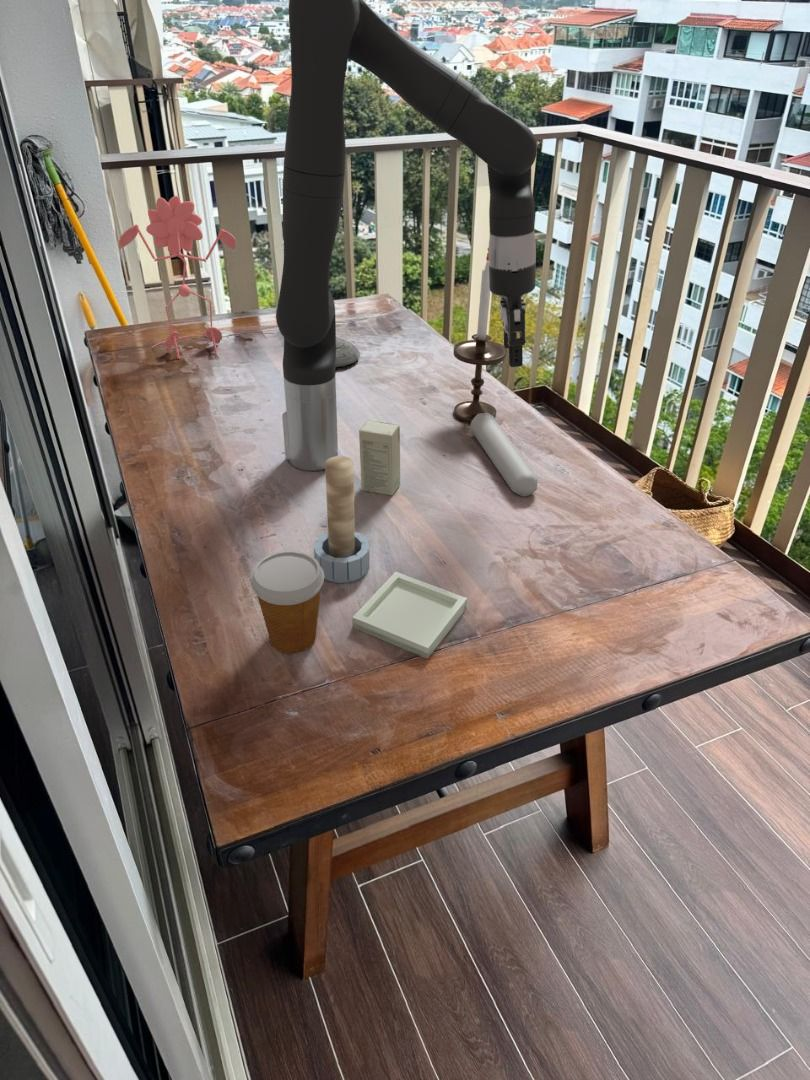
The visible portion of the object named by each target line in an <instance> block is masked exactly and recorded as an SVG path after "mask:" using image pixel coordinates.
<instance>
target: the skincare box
mask: <svg viewBox="0 0 810 1080" xmlns="http://www.w3.org/2000/svg"><path fill="white" fill-rule="evenodd" d="M400 431H401V426H400V424H394V423H389V422H382V421H378V420H377V421H376V420H375V421H374V420H370V419H369V420H367V421H365V423H364V424H363V425H362V426H361V427H360V428H359V429H358V435H359V437H358V438H359V439H358V441H359V457H360V458H359V461H360V478H361V479H360V483H361V490H362V491H366V492H370V493H376V494H382V495H387V496H394V495H395V493H396V491H397V490H398V488H399V487H400V486H401V432H400Z"/></svg>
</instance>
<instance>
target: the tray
mask: <svg viewBox="0 0 810 1080" xmlns="http://www.w3.org/2000/svg"><path fill="white" fill-rule="evenodd" d="M467 605H468V598H467V597H465V596H462V595H460V594H457V593H454V592H452V591H448V590H446V589H443V588H441V587H439V586H435V585H432V584H430V583H428V582H425V581H423V580H420V579H417V578H415V577H411V576H409V575H406V574H404V573H401V572H398V571H395V572H394V573H393V574H391V576H389V578H388V579H387V580H386V581H385V582H384V583H383V585H382V586H380V587H379V589H377V591H376V592H374V594H373V595H372V596H371V597H370V598H369V599H368V600H367V601H366V602H365V604H363V605H362V607H360V609H359V610H358V611H357V612H356V613H355V614H354V615H353V616H352V629H355V630H358V631H360V632H362V633H363V634H364V633H365V634H367V635H369V636H372V637H374V638H377V639H379V640H382V641H384V642H386V643H389V644H391V645H393V646H395V647H398V648H401V649H403V650H405V651H407V652H410V653H413V654H414V655H417V656H420V657H422V658H424V659H429V658H430V656H431V655H432V654H433V653H434V651H435V650H436V649H437V647H438V646H439V645H440V644H441V642H442V641H443V640H444V638H445V637H446V635H448V633H449V632H450V631H451V629H452V628H453V626H455V624H456V623H457V621H458V620H459V619H460V618H461V616H462V615H463V613H464V612H465V611H466V610H467Z"/></svg>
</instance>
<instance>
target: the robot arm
mask: <svg viewBox="0 0 810 1080" xmlns="http://www.w3.org/2000/svg"><path fill="white" fill-rule="evenodd" d="M288 24H289V25H288V26H289V40H290V41H289V43H290V61H291V62H290V70H291V71H290V72H291V73H290V74H291V76H290V77H291V82H290V84H291V85H290V86H291V89H290V99H289V100H290V101H289V107H288V116H287V121H286V122H287V123H286V131H285V145H284V157H283V169H282V170H283V172H282V174H283V175H282V176H283V177H282V238H283V263H282V264H283V265H282V275H281V282H280V289H279V297H278V300H277V307H276V313H275V318H276V324H277V327H278V330H279V333H280V334H281V335H282V337H283V356H282V372H283V386H284V387H283V388H284V398H285V411H284V412H283V413H282V416H281V417H282V418H281V419H282V430H283V441H284V443H283V445H284V455H285V460H287V461H289V462H290V463H291V465H293V467H295V468H296V469H300V470H303V471H309V472H310V471H311V472H312V471H315V472H317V471H323V470H325V462H326V460H327V459H329V458H331V457H335V456H339V446H338V445H339V444H338V442H339V441H338V436H339V435H338V411H337V410H338V409H337V387H336V385H337V383H336V379H337V378H336V367H335V361H336V338H337V332H336V331H337V330H336V329H337V328H336V324H337V323H336V319H337V318H336V305H335V300H334V298H333V295H332V293H331V291H330V287H329V286H330V268H331V260H332V254H333V250H334V246H335V242H336V238H337V234H338V229H339V223H340V218H341V212H342V206H343V199H344V187H345V178H346V177H345V176H346V175H345V174H346V158H347V157H346V154H347V151H346V146H347V145H346V129H345V117H344V92H345V81H346V76H347V75H346V74H347V68H348V62H349V60H350V61H352V62H353V63H356V64H358V65H359V66H361V67H362V68H364V69H365V70H367V71H368V72H370V73H371V74H373V75H374V76H376V77H377V78H378V79H380V80H381V81H382V82H383V83H385V85H386V86H388V87H389V88H391V90H392V91H394V92H395V93H396V94H397V95H398V96H399V97H400V98H401V99H402V100H404V101H405V102H406V104H408V105H409V106H410V107H412V108H413V109H414V111H416V112H418V113H419V114H420V115H421V116H422V117H424V118H425V119H427V120H428V121H429V122H431V123H432V124H433V125H434V126H435V127H438V128H439V129H441V131H443V132H444V133H446V134H447V135H449V136H450V137H452V138H453V139H455V140H457V141H459V142H461V143H462V144H463V145H464V146H465V147H467V149H469V150H470V151H472V153H474V154H475V155H476V156H477V157H478V158H479V159H481V160H482V161H483V162H485V163H486V164H487V165H486V166H487V167H486V168H487V177H488V179H487V180H488V186H489V187H488V188H489V205H488V206H489V207H488V208H489V210H488V212H489V213H488V215H489V216H488V218H489V220H488V221H489V222H488V223H489V238H488V239H489V241H488V247H489V288H490V293H492V294H494V295H495V296H500V297H501V298H500V299H499V311H500V312H499V313H500V320H501V325H502V327H503V346H504V347H505V348H506V349H508V365H509V367H510V368H517V367H522V365H523V364H524V363H523V362H524V361H523V360H524V359H523V353H524V350H523V348H524V346H525V345H526V343H527V342H526V341H527V340H526V314H527V313H526V312H527V308H526V302H525V301H524V297H523V296H524V295H527V294H529V293H532V292H533V291H534V290H535V289H536V278H537V277H536V271H537V269H536V268H537V265H536V264H537V263H536V261H537V259H536V257H537V248H536V247H537V245H536V244H537V243H536V238H535V237H536V236H535V234H536V233H535V200H534V195H533V192H532V191H533V190H532V167H533V164H534V163H535V161H536V159H537V153H538V142H537V139H536V137H535V134H534V133H533V131H532V129H530V128H529V126H528V125H527V124H526V123H525V122H523V121H521V120H519V119H517V118H514V117H513V116H511V115H509V114H508V113H507V112H505V111H504V110H502V109H501V108H499V107H498V106H497V105H495V104H493V103H492V102H491V101H490V100H489V99H488V98H487V96H485V95H484V94H483V93H482V92H481V91H480V90H479V89H478V88H476V86H474V85H473V84H471V83H470V82H469V81H468V80H466V79H465V78H464V77H462V76H461V75H460V74H458V73H457V72H455V71H454V70H453V69H451V68H450V67H448V66H447V65H446V64H445V63H443V62H441V61H439V60H438V59H437V58H435V57H434V56H432V55H431V54H429V53H427V52H426V51H424V49H422V48H420V47H419V46H417V45H415V44H414V43H413V42H412V41H410V40H409V39H407V38H406V37H405V36H403V35H402V34H400V33H399V32H398V31H397V30H396V29H394V28H393V27H392V26H391V25H390V24H389V23H387V21H385V20H384V19H383V18H382V17H381V16H379V14H377V13H376V11H375V10H374V9H372V6H370V5H369V4H368V3H367V2H366V1H365V0H288ZM517 333H518V334H519V337H518V334H517Z"/></svg>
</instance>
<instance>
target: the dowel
mask: <svg viewBox="0 0 810 1080" xmlns="http://www.w3.org/2000/svg"><path fill="white" fill-rule="evenodd" d="M324 470H325V490H326V511H327V513H326V514H327V533H328V540H329V555H330V556H332V557H335V558H347V557H350V556H353V555H355V532H356V531H355V528H356V526H355V524H356V523H355V486H354V484H355V481H354V480H355V477H354V476H355V475H354V474H355V473H354V461H353V459H351V458H350V457H347V456H342V455H338V456H335V457H331V458H329V459H327V460H326V462H325V469H324Z"/></svg>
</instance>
